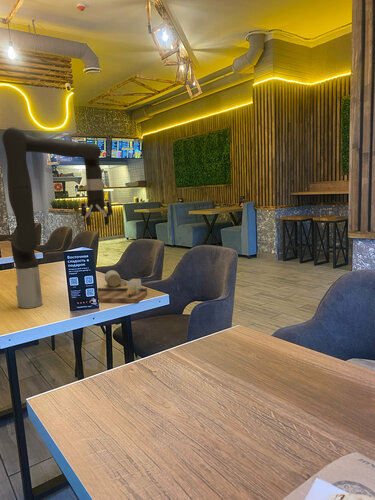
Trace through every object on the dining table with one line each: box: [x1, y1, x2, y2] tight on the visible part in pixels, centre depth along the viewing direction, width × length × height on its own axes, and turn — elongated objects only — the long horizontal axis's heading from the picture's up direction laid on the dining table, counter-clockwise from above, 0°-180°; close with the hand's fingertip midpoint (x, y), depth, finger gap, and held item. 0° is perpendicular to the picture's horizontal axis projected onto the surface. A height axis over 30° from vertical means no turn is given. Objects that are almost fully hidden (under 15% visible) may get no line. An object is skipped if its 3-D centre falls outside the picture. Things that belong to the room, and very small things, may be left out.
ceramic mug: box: [104, 269, 128, 288], centre depth 200 cm, size 11×8×8 cm
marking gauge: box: [127, 278, 142, 297], centre depth 172 cm, size 4×10×6 cm, turn 167°
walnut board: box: [97, 287, 148, 304], centre depth 174 cm, size 24×14×3 cm, turn 77°
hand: (97, 225), depth 176 cm, fingers open, 8 cm apart
